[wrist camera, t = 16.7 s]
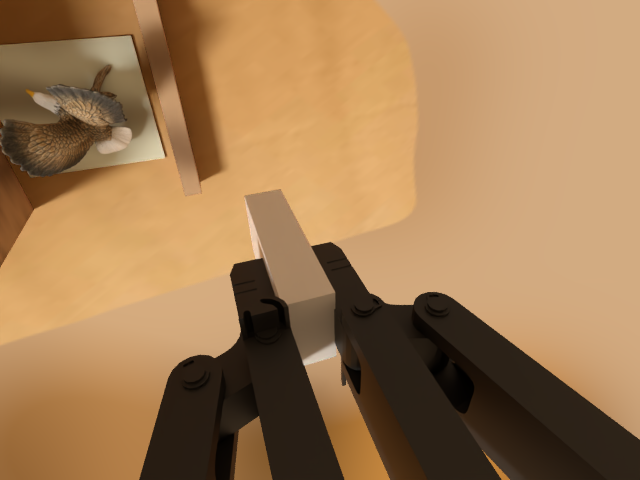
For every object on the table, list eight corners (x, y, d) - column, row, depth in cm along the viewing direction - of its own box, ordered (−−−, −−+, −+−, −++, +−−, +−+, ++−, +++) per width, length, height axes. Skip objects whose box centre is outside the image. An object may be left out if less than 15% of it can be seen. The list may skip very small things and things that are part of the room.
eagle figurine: (49, 35, 28) (13, 54, 21) (151, 84, 32) (148, 113, 25) (24, 129, 30) (-16, 174, 23) (121, 163, 34) (111, 211, 27)
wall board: (-211, -182, 20) (-456, -284, 12) (117, -167, 24) (92, -238, 16) (14, 212, 34) (-32, 283, 26) (200, 182, 38) (208, 236, 30)
